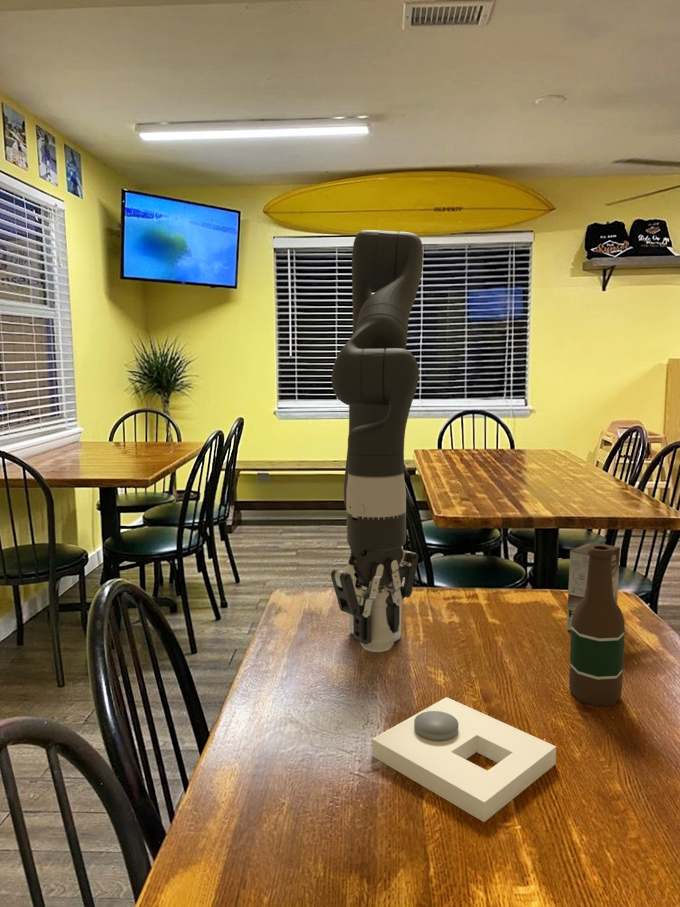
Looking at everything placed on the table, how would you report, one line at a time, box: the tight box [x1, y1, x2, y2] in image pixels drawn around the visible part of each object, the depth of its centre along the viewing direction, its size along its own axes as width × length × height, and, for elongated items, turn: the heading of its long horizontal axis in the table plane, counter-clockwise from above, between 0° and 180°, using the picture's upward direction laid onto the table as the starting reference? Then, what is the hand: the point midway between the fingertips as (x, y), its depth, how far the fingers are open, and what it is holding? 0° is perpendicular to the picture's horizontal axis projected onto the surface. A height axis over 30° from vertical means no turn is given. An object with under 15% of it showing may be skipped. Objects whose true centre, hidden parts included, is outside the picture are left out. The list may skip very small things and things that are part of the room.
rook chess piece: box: [359, 585, 395, 653], centre depth 86 cm, size 4×4×8 cm
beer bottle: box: [568, 545, 626, 707], centre depth 103 cm, size 8×8×24 cm
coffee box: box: [566, 541, 621, 632], centre depth 130 cm, size 9×6×16 cm
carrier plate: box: [371, 696, 557, 823], centre depth 88 cm, size 18×16×4 cm
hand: (376, 636), depth 87 cm, fingers closed on rook chess piece, 4 cm apart
